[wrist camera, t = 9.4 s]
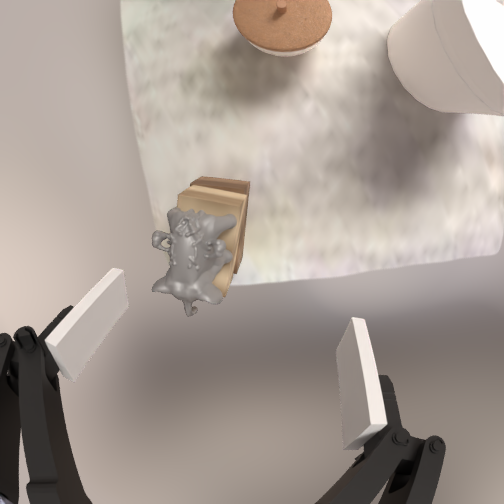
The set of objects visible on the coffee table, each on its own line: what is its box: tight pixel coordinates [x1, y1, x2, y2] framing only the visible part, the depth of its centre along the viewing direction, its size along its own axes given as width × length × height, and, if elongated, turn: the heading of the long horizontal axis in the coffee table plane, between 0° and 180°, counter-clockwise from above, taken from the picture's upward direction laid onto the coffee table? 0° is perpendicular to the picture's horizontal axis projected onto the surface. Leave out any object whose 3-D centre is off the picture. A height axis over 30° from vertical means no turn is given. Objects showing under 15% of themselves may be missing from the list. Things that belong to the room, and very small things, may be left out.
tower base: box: [190, 176, 250, 274], centre depth 38 cm, size 12×7×5 cm, turn 174°
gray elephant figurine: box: [152, 207, 237, 317], centre depth 28 cm, size 9×12×8 cm
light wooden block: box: [177, 185, 247, 297], centre depth 34 cm, size 12×7×5 cm, turn 170°
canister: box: [387, 0, 504, 116], centre depth 15 cm, size 16×16×20 cm
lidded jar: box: [233, 0, 332, 57], centre depth 23 cm, size 11×11×9 cm
